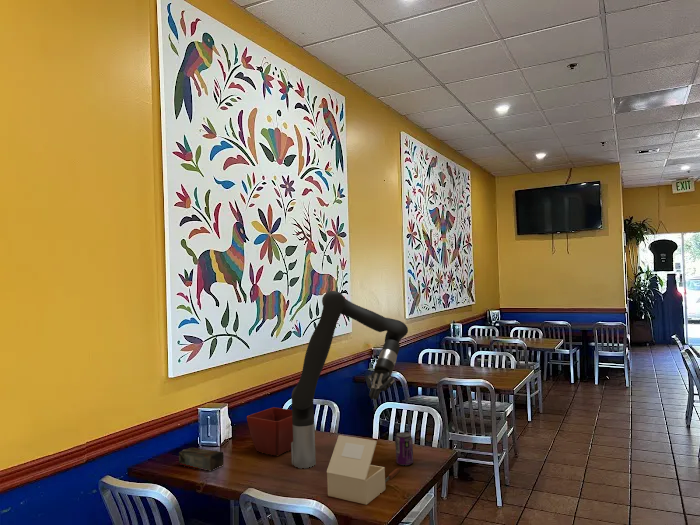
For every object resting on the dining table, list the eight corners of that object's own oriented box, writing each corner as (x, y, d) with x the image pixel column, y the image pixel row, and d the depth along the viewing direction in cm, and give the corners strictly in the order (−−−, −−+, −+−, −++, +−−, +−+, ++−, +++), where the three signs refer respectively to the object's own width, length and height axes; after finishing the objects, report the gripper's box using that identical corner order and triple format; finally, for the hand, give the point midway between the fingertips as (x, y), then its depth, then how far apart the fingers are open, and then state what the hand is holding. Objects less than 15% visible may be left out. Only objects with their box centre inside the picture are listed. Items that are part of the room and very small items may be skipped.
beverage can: (412, 466, 205) (411, 437, 206) (395, 466, 207) (394, 436, 207) (413, 460, 212) (412, 432, 213) (397, 460, 214) (396, 431, 214)
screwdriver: (396, 472, 201) (396, 467, 201) (400, 472, 201) (399, 467, 201) (380, 486, 187) (380, 481, 188) (383, 487, 187) (383, 482, 187)
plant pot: (305, 447, 234) (304, 411, 235) (278, 460, 218) (277, 421, 219) (274, 441, 245) (273, 406, 245) (246, 453, 229) (245, 416, 229)
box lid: (327, 472, 181) (326, 472, 180) (339, 435, 189) (338, 434, 188) (365, 480, 172) (364, 479, 172) (377, 441, 180) (376, 440, 180)
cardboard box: (327, 495, 180) (327, 473, 181) (348, 481, 192) (347, 460, 193) (366, 504, 172) (365, 480, 172) (385, 489, 184) (384, 467, 184)
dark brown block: (192, 460, 224) (191, 445, 224) (224, 466, 214) (224, 450, 215) (178, 466, 217) (178, 450, 217) (211, 472, 207) (211, 456, 208)
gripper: (368, 356, 212) (354, 391, 201) (397, 357, 205) (384, 394, 194) (375, 367, 216) (361, 402, 205) (403, 368, 209) (391, 405, 198)
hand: (372, 398), depth 200 cm, fingers closed
